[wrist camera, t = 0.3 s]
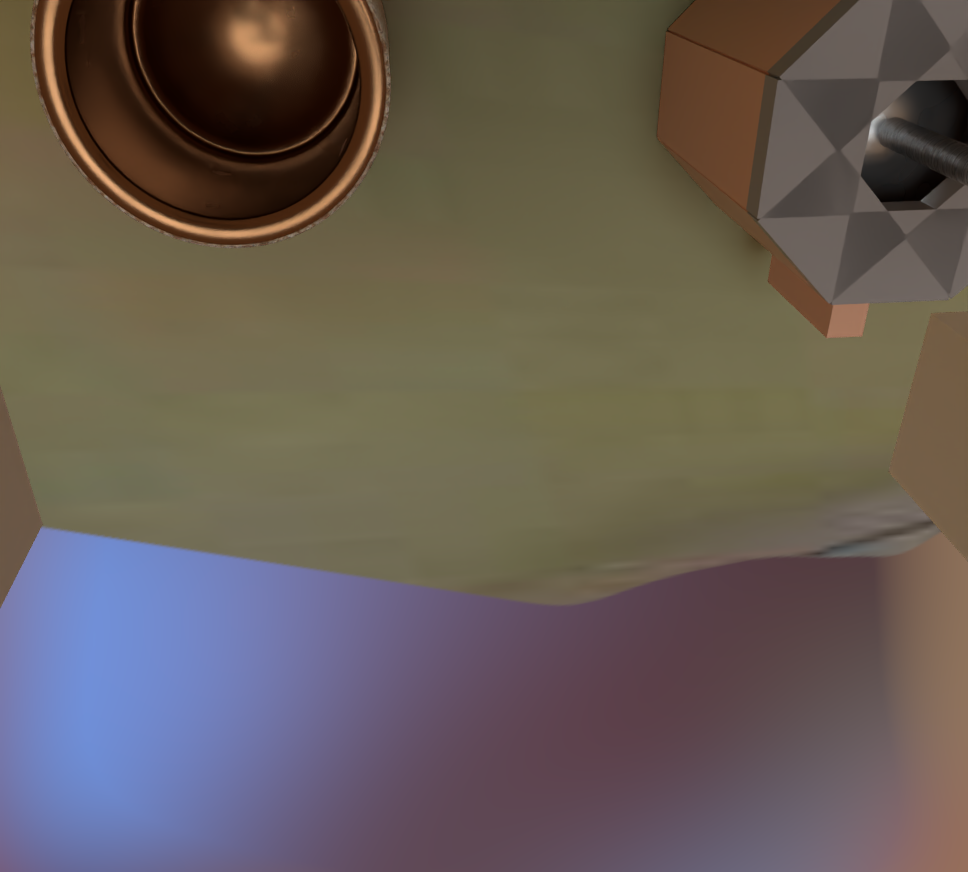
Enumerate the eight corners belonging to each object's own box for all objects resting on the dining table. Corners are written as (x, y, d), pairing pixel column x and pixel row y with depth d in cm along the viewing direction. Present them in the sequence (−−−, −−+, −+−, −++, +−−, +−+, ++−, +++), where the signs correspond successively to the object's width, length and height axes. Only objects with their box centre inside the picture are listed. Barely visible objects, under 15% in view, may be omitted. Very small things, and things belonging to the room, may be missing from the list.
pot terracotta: (673, -54, 36) (795, -37, 26) (925, -56, 37) (1138, -40, 27) (645, 258, 43) (734, 372, 32) (860, 250, 44) (1013, 358, 33)
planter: (59, -91, 34) (-42, -88, 25) (353, -147, 34) (348, -163, 25) (161, 200, 39) (106, 280, 31) (412, 151, 39) (424, 218, 31)
